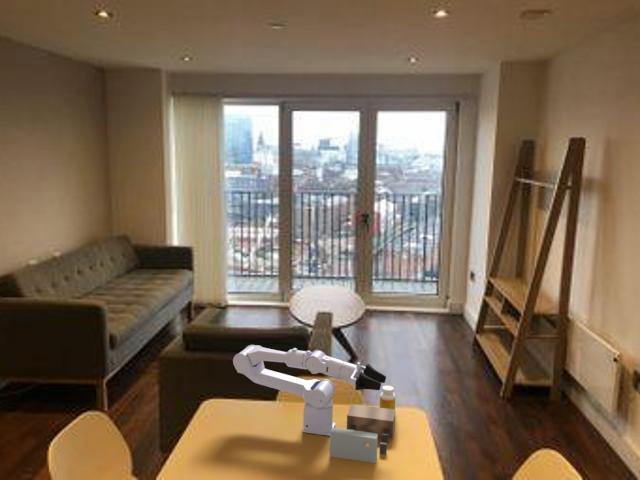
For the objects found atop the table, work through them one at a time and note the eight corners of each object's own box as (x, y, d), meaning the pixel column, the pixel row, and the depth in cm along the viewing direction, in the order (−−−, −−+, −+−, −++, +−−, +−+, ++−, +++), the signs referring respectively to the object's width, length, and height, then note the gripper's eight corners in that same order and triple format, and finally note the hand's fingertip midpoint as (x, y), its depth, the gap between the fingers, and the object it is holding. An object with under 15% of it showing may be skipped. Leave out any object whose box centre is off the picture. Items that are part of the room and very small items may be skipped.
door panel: (328, 458, 166) (329, 434, 164) (331, 451, 170) (332, 427, 168) (375, 465, 163) (376, 440, 161) (376, 457, 167) (377, 433, 165)
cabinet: (341, 447, 172) (341, 429, 171) (350, 420, 188) (351, 404, 187) (389, 454, 168) (390, 436, 167) (394, 426, 185) (395, 409, 184)
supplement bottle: (394, 418, 190) (395, 392, 189) (378, 416, 191) (379, 390, 190) (395, 410, 196) (396, 385, 194) (380, 409, 197) (381, 383, 195)
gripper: (338, 364, 169) (380, 377, 165) (350, 352, 183) (390, 365, 179) (333, 385, 170) (375, 399, 166) (346, 372, 184) (385, 385, 180)
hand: (383, 383), depth 172 cm, fingers open, 7 cm apart
